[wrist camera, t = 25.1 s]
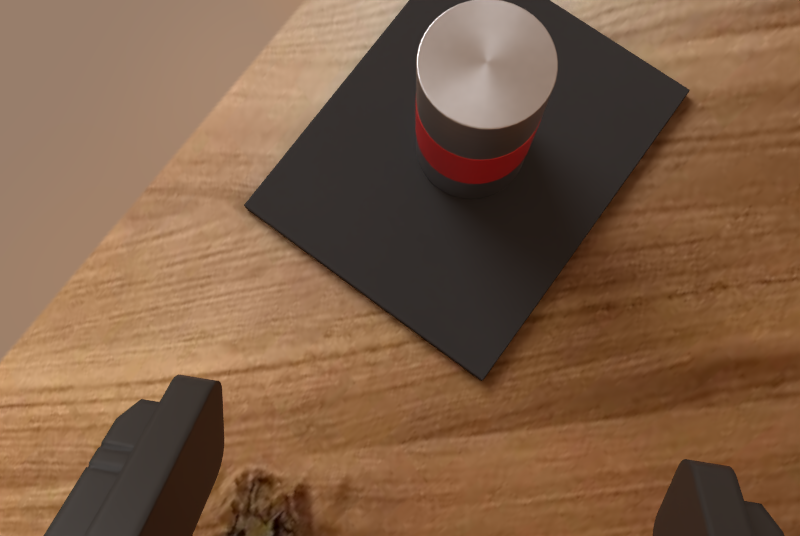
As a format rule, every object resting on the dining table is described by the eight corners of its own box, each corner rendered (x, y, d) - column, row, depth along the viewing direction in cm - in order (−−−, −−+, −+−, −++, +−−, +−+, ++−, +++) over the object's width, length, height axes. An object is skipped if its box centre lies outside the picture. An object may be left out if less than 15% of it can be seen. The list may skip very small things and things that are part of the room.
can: (452, 219, 41) (464, 155, 31) (395, 129, 42) (389, 40, 32) (546, 164, 42) (586, 84, 32) (487, 77, 43) (508, -27, 33)
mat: (481, 381, 40) (482, 380, 39) (246, 208, 42) (243, 205, 41) (686, 94, 43) (690, 89, 42) (456, -54, 45) (457, -60, 44)
